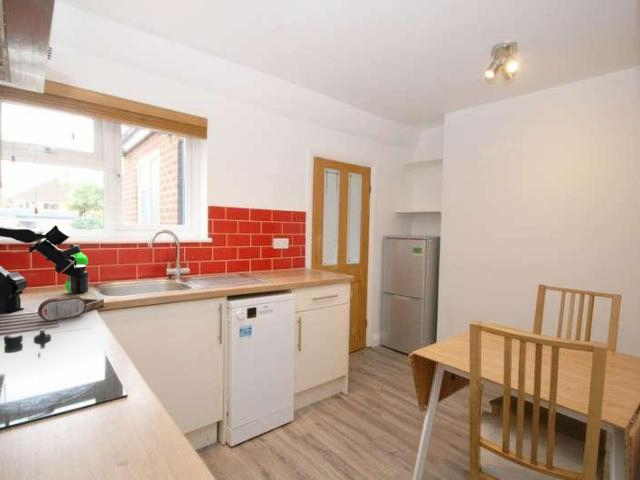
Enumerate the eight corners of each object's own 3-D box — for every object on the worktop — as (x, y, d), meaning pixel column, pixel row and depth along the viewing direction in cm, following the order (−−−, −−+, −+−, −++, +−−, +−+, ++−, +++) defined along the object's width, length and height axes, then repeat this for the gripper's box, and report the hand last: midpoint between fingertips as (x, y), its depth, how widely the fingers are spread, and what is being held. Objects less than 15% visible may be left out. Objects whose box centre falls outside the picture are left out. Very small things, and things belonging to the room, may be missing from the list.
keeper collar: (82, 313, 138) (82, 306, 138) (54, 312, 139) (54, 305, 139) (103, 305, 151) (103, 299, 150) (77, 304, 151) (77, 298, 151)
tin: (84, 314, 137) (84, 294, 137) (87, 315, 135) (87, 295, 135) (37, 322, 126) (37, 300, 125) (39, 323, 124) (39, 301, 123)
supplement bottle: (67, 294, 144) (66, 267, 142) (73, 289, 151) (72, 263, 149) (85, 294, 146) (85, 267, 144) (91, 289, 153) (90, 263, 151)
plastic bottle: (86, 293, 172) (85, 245, 171) (61, 295, 168) (60, 246, 167) (90, 290, 181) (90, 244, 180) (67, 291, 177) (66, 244, 176)
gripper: (64, 240, 136) (97, 265, 143) (70, 237, 152) (99, 260, 159) (40, 260, 133) (74, 285, 139) (48, 255, 149) (79, 278, 155)
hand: (83, 276), depth 148 cm, fingers closed on supplement bottle, 7 cm apart
